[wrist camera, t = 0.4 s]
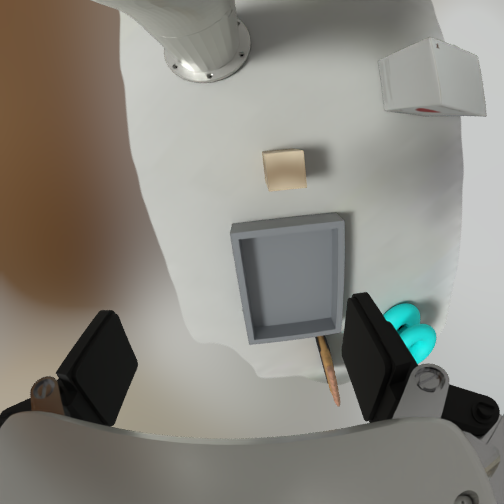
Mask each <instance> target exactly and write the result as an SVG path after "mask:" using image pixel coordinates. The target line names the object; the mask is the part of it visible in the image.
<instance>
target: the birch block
mask: <svg viewBox="0 0 504 504" xmlns="http://www.w3.org/2000/svg"><path fill="white" fill-rule="evenodd" d="M262 156H263V164H264V172H265V180H266V184H267V187H268V189H269V192H270V191H279V190H289V189H299V188H307V183H306V172H305V161H304V151H303V150H298V149H283V150H273V151H263V152H262Z"/></svg>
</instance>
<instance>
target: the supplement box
mask: <svg viewBox="0 0 504 504" xmlns="http://www.w3.org/2000/svg"><path fill="white" fill-rule="evenodd" d="M378 63H379V70H380V77H381V84H382V92H383V102H384V110H385V111H391V112H399V113H407V114H414V115H421V116H484V117H486V104H485V97H484V90H483V83H482V76H481V70H480V65H479V60H478V57H477V56H476V55H474V54H472V53H470V52H468V51H465V50H463V49H461V48H459V47H457V46H455V45H451V44H448V43H446V42H443V41H440V40H438V39H435V38H432V37H429V38H426V39H424V40H422V41H419V42H417V43H415V44H412V45H410V46H408V47H406V48H404V49H401V50H399V51H397V52H395V53H393V54H391V55H389V56H387V57H385V58H383V59H381V60H379V61H378Z"/></svg>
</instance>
